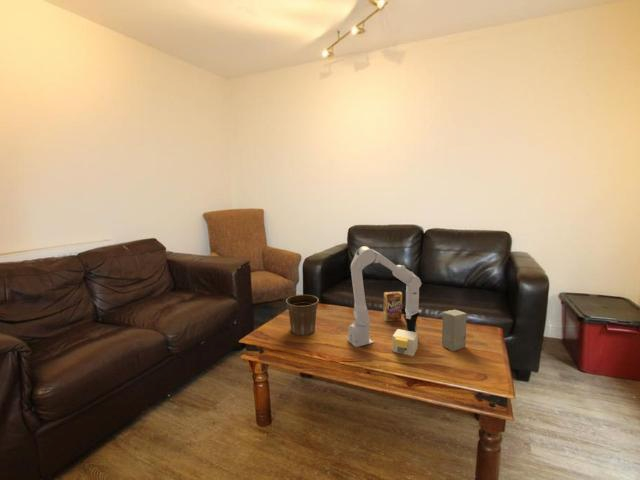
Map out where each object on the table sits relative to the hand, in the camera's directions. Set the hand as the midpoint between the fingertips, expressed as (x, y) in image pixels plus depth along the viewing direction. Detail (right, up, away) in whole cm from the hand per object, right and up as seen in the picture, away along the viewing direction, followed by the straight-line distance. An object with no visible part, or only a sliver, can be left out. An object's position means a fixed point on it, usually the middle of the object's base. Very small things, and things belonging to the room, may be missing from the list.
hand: (411, 328), depth 149 cm
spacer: (-9, -3, -15) cm, 18 cm away
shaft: (-4, -5, -7) cm, 10 cm away
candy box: (-4, -2, +23) cm, 23 cm away
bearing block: (-5, -7, -9) cm, 13 cm away
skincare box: (+17, -6, -7) cm, 19 cm away
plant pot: (-51, -5, +12) cm, 53 cm away
